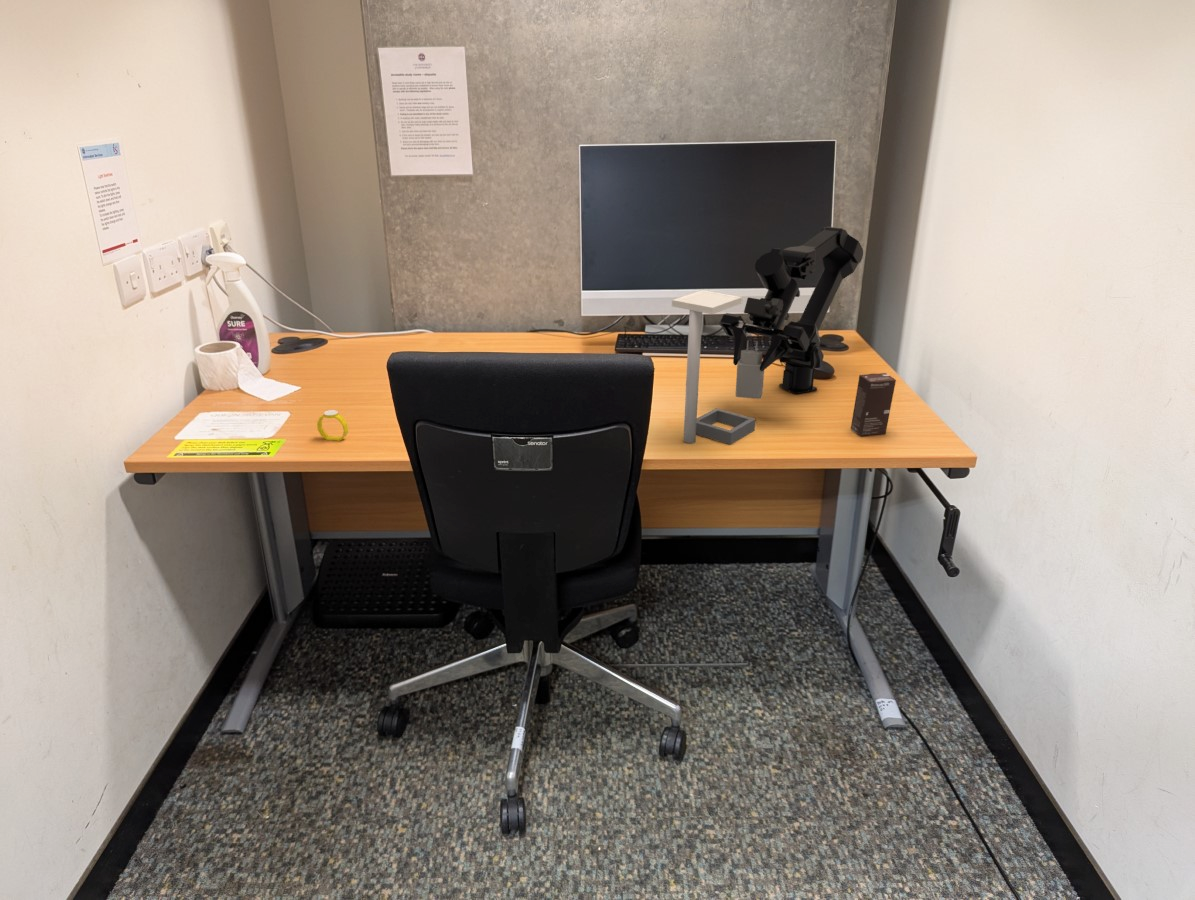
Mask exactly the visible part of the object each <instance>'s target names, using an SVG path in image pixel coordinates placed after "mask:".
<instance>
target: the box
mask: <svg viewBox="0 0 1195 900" xmlns="http://www.w3.org/2000/svg"><path fill="white" fill-rule="evenodd" d="M896 382H897V380H896V378H894V377H892V376H891V375H889V374H888V373H886V372H883V373H882V372H881V373H869V374H867V373H866V374H860V375H859V377H858V382H857V389H856V393H855V401H854V408H853V412H852V419H851V425H850V429H851V431H852V432H854V433H855V434H857V435H858V436H860V437H865V436H875V435H885V434H887V429H888V428H887V427H888V423H889V418H890V413H891V407H892V401H893V397H894V392H895V388H896V387H895V386H896Z"/></svg>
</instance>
